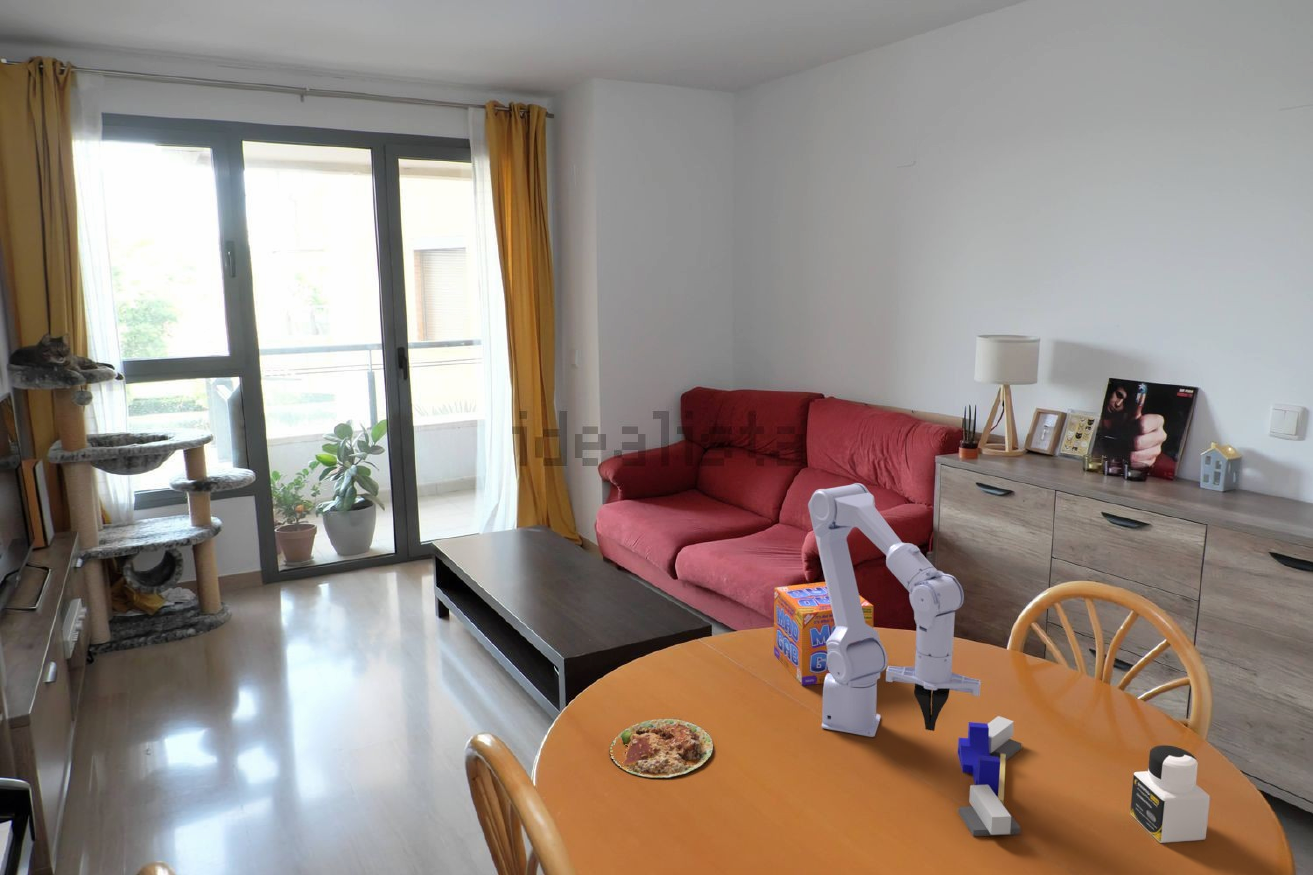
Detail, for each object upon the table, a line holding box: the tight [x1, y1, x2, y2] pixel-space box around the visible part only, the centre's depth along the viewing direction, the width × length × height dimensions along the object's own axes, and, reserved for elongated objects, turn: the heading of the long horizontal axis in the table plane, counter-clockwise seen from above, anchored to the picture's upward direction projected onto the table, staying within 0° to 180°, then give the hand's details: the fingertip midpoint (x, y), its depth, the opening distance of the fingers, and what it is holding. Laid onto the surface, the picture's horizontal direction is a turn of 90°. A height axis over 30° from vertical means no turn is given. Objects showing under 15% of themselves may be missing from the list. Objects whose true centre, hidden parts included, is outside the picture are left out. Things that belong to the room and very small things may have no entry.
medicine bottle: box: [1129, 744, 1211, 844], centre depth 128 cm, size 7×7×12 cm
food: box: [608, 718, 714, 779], centre depth 152 cm, size 18×18×3 cm
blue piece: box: [957, 721, 1000, 797], centre depth 143 cm, size 12×4×6 cm, turn 169°
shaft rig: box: [958, 715, 1022, 837], centre depth 140 cm, size 9×31×4 cm, turn 157°
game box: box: [773, 581, 875, 687], centre depth 182 cm, size 16×16×16 cm
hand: (930, 727), depth 143 cm, fingers closed
